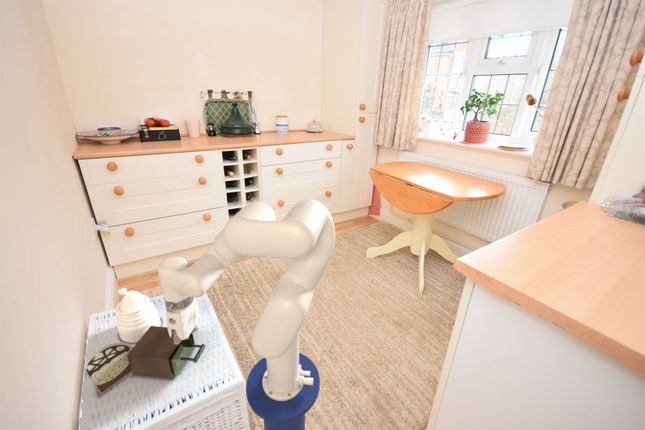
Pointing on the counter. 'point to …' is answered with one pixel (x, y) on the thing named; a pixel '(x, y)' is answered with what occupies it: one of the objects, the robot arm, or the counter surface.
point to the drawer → (184, 357)
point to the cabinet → (153, 354)
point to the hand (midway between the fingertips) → (188, 345)
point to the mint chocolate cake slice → (108, 366)
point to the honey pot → (135, 315)
